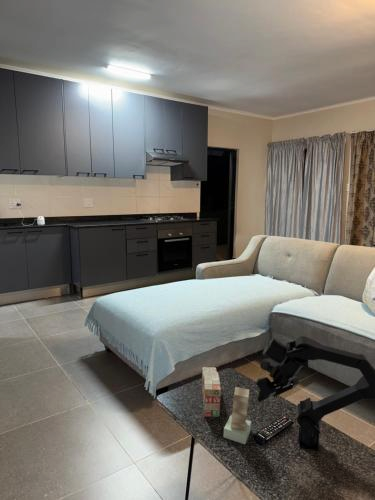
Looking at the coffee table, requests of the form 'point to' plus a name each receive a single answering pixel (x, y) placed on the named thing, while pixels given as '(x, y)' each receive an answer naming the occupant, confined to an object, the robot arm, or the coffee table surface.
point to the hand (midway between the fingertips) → (266, 398)
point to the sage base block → (237, 432)
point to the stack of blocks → (211, 392)
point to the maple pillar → (239, 408)
